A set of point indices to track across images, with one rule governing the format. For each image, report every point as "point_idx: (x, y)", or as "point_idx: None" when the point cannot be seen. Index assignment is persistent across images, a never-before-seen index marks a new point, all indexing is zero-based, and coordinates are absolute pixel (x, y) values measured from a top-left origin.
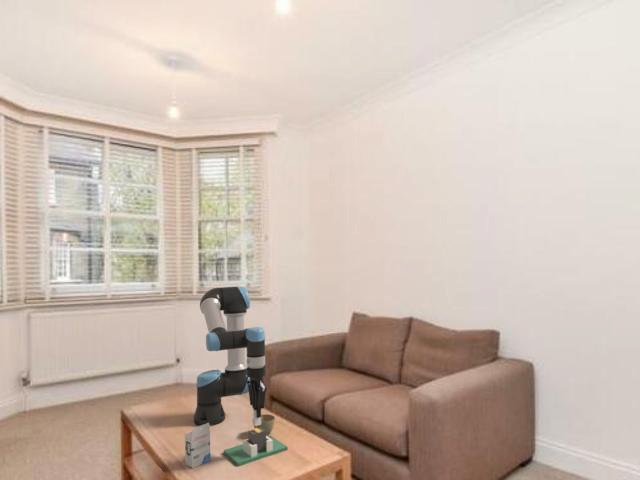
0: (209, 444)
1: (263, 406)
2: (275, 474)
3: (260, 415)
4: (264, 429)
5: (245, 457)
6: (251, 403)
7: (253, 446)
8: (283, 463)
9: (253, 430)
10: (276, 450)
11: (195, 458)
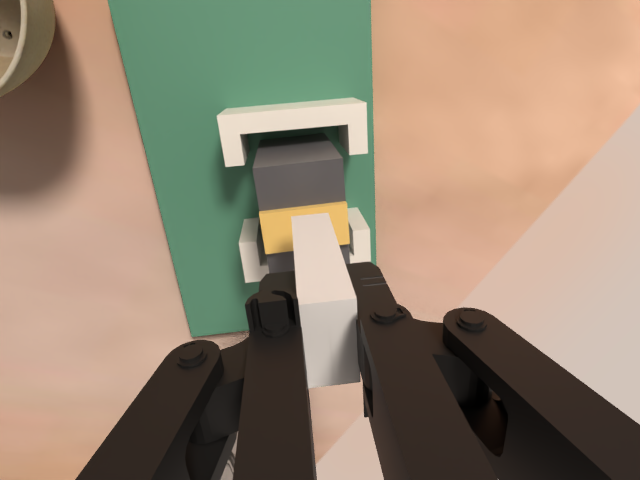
0: (232, 455)
1: (506, 337)
2: (563, 189)
3: (380, 278)
4: (52, 32)
5: None
6: (232, 444)
7: (370, 253)
8: (502, 101)
9: (282, 249)
10: (371, 77)
11: None
